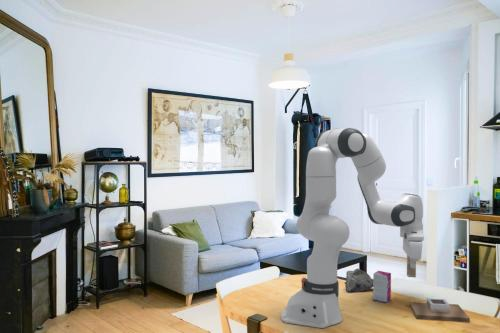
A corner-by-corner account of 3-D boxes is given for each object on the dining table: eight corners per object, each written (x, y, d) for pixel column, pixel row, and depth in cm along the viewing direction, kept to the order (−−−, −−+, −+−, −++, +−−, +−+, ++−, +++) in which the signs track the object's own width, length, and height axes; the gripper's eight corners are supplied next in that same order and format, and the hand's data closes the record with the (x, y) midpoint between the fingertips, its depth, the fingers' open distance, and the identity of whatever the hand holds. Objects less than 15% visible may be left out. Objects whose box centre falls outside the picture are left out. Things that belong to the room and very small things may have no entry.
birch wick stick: (408, 276, 169) (408, 252, 169) (406, 275, 172) (406, 251, 172) (415, 277, 168) (415, 253, 168) (414, 275, 171) (414, 251, 171)
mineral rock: (377, 289, 186) (377, 267, 186) (372, 296, 176) (372, 273, 176) (349, 285, 192) (349, 264, 192) (342, 292, 183) (342, 269, 182)
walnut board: (416, 318, 151) (416, 314, 151) (409, 305, 165) (409, 301, 165) (469, 322, 147) (469, 318, 147) (457, 308, 161) (457, 304, 161)
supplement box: (386, 303, 167) (386, 275, 167) (372, 300, 171) (372, 273, 171) (391, 299, 172) (391, 272, 172) (377, 296, 176) (377, 270, 175)
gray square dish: (430, 312, 153) (430, 304, 153) (426, 305, 160) (426, 298, 160) (449, 313, 152) (449, 305, 152) (444, 306, 159) (444, 299, 159)
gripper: (399, 228, 180) (399, 260, 181) (407, 236, 160) (407, 272, 161) (414, 229, 179) (414, 260, 179) (424, 237, 159) (424, 273, 159)
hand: (411, 266), depth 170 cm, fingers closed on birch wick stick, 3 cm apart
